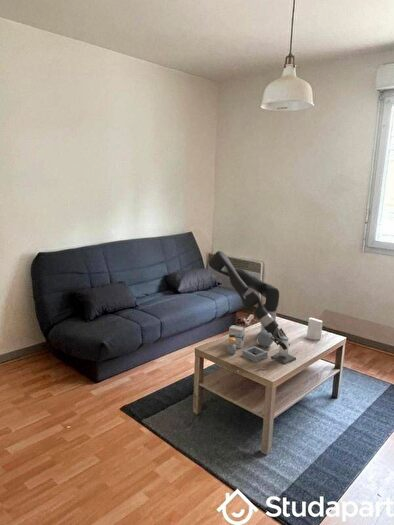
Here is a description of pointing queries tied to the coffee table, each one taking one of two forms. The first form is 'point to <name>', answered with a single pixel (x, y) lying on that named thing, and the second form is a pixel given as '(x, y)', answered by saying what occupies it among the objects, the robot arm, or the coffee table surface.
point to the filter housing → (248, 352)
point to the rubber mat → (283, 358)
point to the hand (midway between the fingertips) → (287, 347)
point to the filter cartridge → (286, 342)
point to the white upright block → (314, 328)
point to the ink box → (237, 335)
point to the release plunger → (232, 340)
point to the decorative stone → (264, 338)
